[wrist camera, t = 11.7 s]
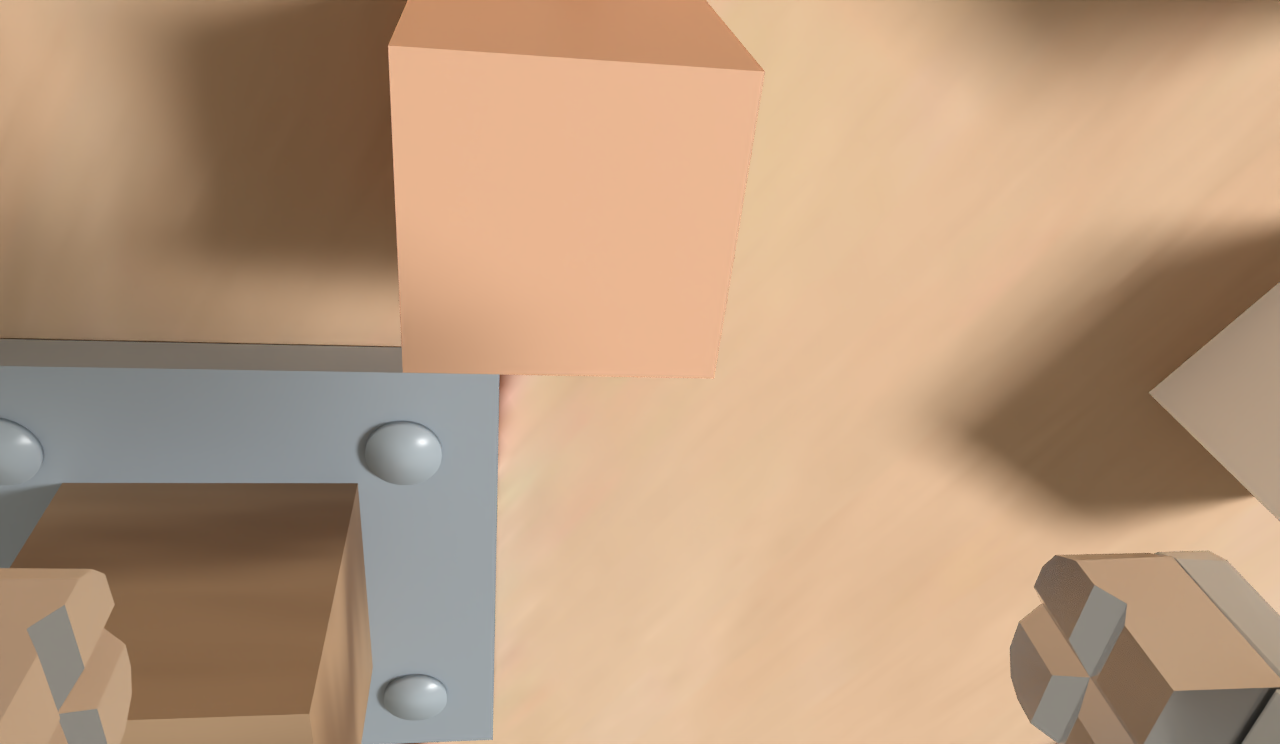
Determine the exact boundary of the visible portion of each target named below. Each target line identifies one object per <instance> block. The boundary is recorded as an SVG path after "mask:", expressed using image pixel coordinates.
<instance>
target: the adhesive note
mask: <svg viewBox="0 0 1280 744" xmlns="http://www.w3.org/2000/svg"><path fill="white" fill-rule="evenodd" d="M1149 394H1150V395H1151V396H1152V397H1153V398H1154V399H1155V400H1156V401H1157V402H1158V403H1159V404H1160V405H1161V406H1162V407H1164V408H1165V409H1166V410H1167V411H1168V412H1169V413H1170V414H1171V415H1172V416H1173V417H1174V418H1175V419H1176V420H1177V421H1178V422H1179V423H1180V424H1181V425H1182V426H1183V427H1184V428H1185V429H1186V430H1187V431H1188V432H1189V433H1190V434H1191V435H1192V436H1193V437H1194V438H1195V439H1196V440H1197V441H1198V442H1199V443H1200V444H1201V445H1202V446H1203V447H1204V448H1205V449H1206V450H1207V451H1208V452H1209V453H1210V454H1211V455H1212V456H1213V457H1215V458H1216V459H1217V460H1218V461H1219V462H1220V463H1221V464H1222V465H1223V466H1224V467H1225V468H1226V469H1227V470H1228V471H1229V472H1230V473H1231V474H1232V475H1233V476H1234V477H1235V478H1236V479H1237V480H1238V481H1239V482H1240V483H1241V484H1242V485H1243V486H1244V487H1245V488H1246V489H1247V490H1248V491H1249V492H1250V493H1251V494H1252V495H1253V496H1254V497H1255V498H1256V499H1257V500H1258V501H1259V502H1260V503H1261V504H1262V505H1263V506H1264V507H1265V508H1267V509H1268V510H1269V511H1270V512H1271V513H1272V514H1273V515H1274V516H1275V517H1276V518H1277V519H1278V520H1279V521H1280V282H1279V283H1278V284H1277V285H1275V286H1274V287H1273V288H1272V289H1271V290H1269V291H1268V292H1267V293H1266V294H1265V295H1264V296H1262V297H1261V298H1260V299H1259V300H1258V301H1256V302H1255V303H1254V304H1253V305H1252V306H1250V307H1249V308H1248V309H1247V310H1246V311H1245V312H1243V313H1242V314H1241V315H1240V316H1239V317H1237V318H1236V319H1235V320H1234V321H1233V322H1232V323H1230V324H1229V325H1228V326H1227V327H1226V328H1224V329H1223V330H1222V331H1221V332H1220V333H1219V334H1217V335H1216V336H1215V337H1214V338H1213V339H1211V340H1210V341H1209V342H1208V343H1207V344H1205V345H1204V346H1203V347H1202V348H1201V349H1200V350H1198V351H1197V352H1196V353H1195V354H1194V355H1192V356H1191V357H1190V358H1189V359H1188V360H1187V361H1185V362H1184V363H1183V364H1182V365H1181V366H1179V367H1178V368H1177V369H1176V370H1175V371H1174V372H1172V373H1171V374H1170V375H1169V376H1168V377H1166V378H1165V379H1164V380H1163V381H1162V382H1161V383H1159V384H1158V385H1157V386H1156V387H1155V388H1153V389H1152V390H1151V391H1150V392H1149Z"/></svg>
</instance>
